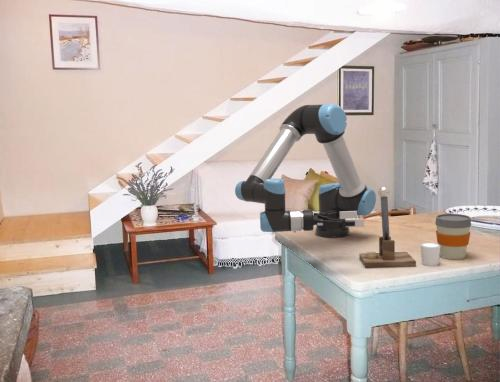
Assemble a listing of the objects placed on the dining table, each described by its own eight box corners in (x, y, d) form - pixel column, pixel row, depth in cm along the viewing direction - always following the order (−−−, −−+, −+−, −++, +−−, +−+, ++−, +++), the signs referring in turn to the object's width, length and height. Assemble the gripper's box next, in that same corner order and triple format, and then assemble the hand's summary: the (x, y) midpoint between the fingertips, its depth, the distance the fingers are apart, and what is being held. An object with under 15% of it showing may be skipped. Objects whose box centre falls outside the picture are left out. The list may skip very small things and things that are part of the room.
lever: (380, 249, 196) (376, 186, 192) (391, 249, 196) (387, 185, 192) (382, 252, 192) (379, 188, 188) (393, 252, 192) (390, 187, 188)
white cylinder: (421, 266, 189) (421, 247, 188) (419, 260, 195) (419, 242, 194) (441, 266, 187) (441, 247, 186) (438, 260, 194) (439, 242, 193)
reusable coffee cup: (454, 249, 207) (455, 212, 205) (477, 257, 195) (479, 218, 193) (427, 253, 203) (428, 215, 201) (450, 262, 191) (450, 222, 189)
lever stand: (359, 258, 201) (359, 235, 200) (406, 256, 200) (406, 233, 199) (365, 268, 189) (365, 244, 188) (415, 266, 189) (416, 242, 187)
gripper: (299, 223, 206) (354, 221, 205) (305, 239, 181) (367, 236, 181) (299, 204, 205) (354, 202, 204) (304, 217, 180) (366, 215, 179)
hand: (360, 218), depth 192 cm, fingers open, 13 cm apart
